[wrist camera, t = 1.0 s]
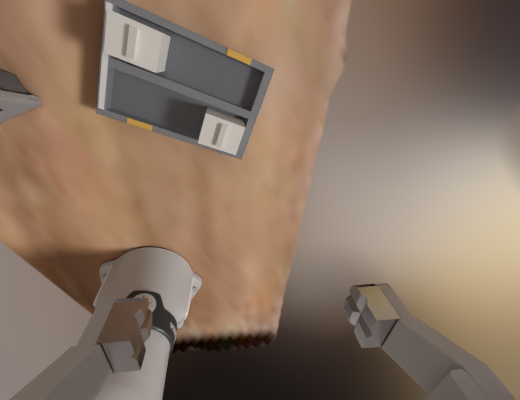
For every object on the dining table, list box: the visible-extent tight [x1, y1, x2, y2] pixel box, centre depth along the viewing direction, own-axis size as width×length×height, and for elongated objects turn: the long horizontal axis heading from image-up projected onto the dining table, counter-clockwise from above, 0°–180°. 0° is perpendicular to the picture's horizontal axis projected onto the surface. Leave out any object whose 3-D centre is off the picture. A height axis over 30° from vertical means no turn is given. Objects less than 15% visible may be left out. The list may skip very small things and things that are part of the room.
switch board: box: [96, 0, 274, 159], centre depth 31 cm, size 12×19×3 cm, turn 67°
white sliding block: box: [104, 9, 171, 73], centre depth 26 cm, size 4×5×5 cm
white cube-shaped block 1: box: [198, 107, 245, 155], centre depth 31 cm, size 4×5×5 cm
